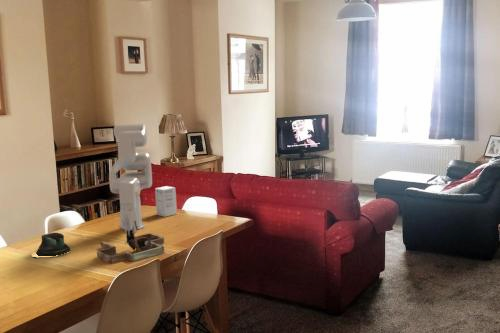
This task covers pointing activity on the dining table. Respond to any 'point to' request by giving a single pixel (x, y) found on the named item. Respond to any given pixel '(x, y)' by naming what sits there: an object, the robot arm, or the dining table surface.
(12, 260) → the dining table surface
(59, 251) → the dark green fedora
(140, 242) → the pottery mug
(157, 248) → the trap lane
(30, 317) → the dining table surface
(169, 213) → the supplement box
